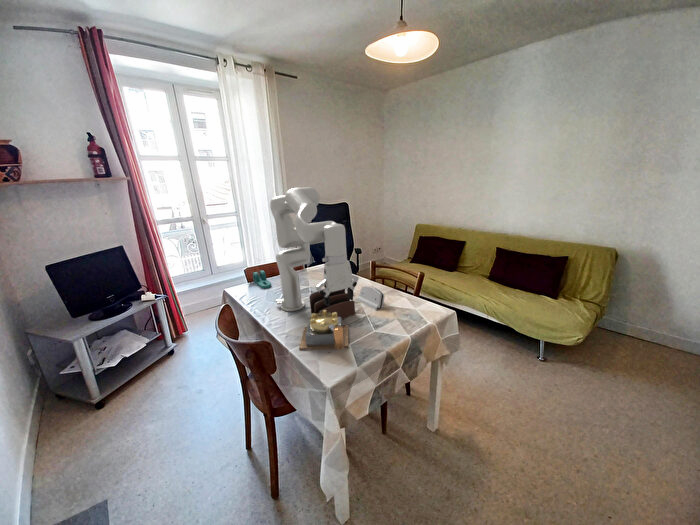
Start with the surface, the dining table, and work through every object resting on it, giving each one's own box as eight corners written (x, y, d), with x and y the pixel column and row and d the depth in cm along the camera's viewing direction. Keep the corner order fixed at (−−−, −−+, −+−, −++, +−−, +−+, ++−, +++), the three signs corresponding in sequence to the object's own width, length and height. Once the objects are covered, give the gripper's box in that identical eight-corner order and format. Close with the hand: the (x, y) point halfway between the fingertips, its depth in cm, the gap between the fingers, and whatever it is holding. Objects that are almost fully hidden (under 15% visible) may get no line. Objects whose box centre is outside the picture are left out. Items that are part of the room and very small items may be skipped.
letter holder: (311, 318, 137) (308, 292, 133) (345, 307, 147) (344, 282, 143) (320, 327, 129) (317, 299, 125) (355, 314, 139) (354, 288, 134)
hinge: (355, 300, 154) (359, 282, 153) (361, 300, 157) (366, 283, 156) (376, 310, 142) (380, 291, 141) (382, 310, 145) (387, 292, 144)
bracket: (253, 282, 189) (251, 271, 187) (263, 279, 193) (261, 269, 190) (262, 290, 175) (261, 278, 173) (273, 287, 179) (271, 275, 176)
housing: (299, 349, 112) (297, 336, 110) (305, 329, 127) (303, 317, 126) (348, 347, 112) (347, 334, 110) (348, 327, 127) (347, 315, 125)
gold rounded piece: (306, 329, 121) (304, 313, 119) (331, 321, 127) (330, 306, 124) (327, 354, 104) (325, 335, 101) (354, 343, 110) (354, 325, 107)
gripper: (318, 265, 92) (322, 312, 97) (362, 256, 100) (363, 299, 105) (309, 260, 98) (314, 304, 104) (351, 252, 106) (353, 293, 112)
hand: (339, 302), depth 104 cm, fingers open, 9 cm apart
